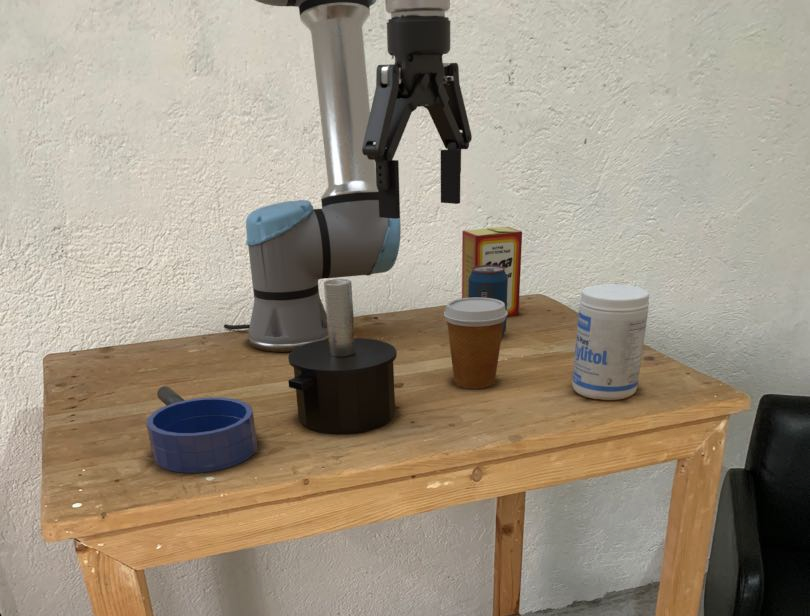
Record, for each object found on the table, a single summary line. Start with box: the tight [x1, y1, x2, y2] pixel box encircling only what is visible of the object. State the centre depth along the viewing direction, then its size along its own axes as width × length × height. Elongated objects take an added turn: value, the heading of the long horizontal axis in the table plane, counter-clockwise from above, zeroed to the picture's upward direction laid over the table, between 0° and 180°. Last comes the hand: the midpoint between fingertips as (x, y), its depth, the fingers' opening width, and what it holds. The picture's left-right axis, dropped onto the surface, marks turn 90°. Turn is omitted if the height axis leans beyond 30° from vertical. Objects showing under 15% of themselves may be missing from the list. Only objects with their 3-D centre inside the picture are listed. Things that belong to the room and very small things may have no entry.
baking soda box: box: [461, 226, 523, 317], centre depth 155 cm, size 10×6×16 cm
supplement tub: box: [571, 283, 650, 401], centre depth 115 cm, size 10×10×15 cm
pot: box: [287, 361, 396, 435], centre depth 111 cm, size 14×19×8 cm
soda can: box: [468, 265, 508, 336], centre depth 143 cm, size 7×7×12 cm
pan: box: [146, 396, 258, 474], centre depth 103 cm, size 13×13×5 cm
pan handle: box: [157, 385, 186, 406], centre depth 110 cm, size 10×2×2 cm, turn 32°
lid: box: [287, 278, 398, 375], centre depth 107 cm, size 15×15×11 cm
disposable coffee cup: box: [443, 297, 508, 390], centre depth 121 cm, size 10×10×12 cm
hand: (421, 210), depth 104 cm, fingers open, 13 cm apart
